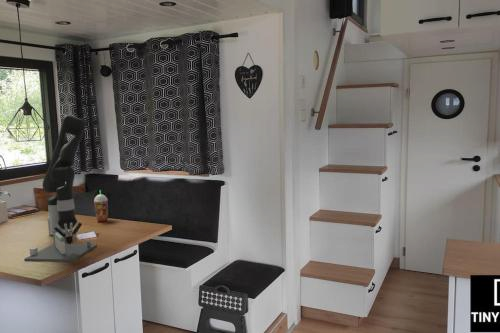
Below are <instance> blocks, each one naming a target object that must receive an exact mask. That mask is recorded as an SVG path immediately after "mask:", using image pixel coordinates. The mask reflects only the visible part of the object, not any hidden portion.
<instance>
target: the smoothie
mask: <svg viewBox="0 0 500 333" xmlns="http://www.w3.org/2000/svg"><path fill="white" fill-rule="evenodd" d="M108 202H109V200H108V197H107V196H106V195H104V194H102V190H101V189H100V190H99V194H97V195H96V196H95V197H94V200H93V203H94V204H93V205H94V210H95V211H94V212H95V218H96V221H97V223H105V222H108V219H109V209H108V208H109V206H108V205H109V204H108Z"/></svg>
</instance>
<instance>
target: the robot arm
mask: <svg viewBox="0 0 500 333" xmlns="http://www.w3.org/2000/svg"><path fill="white" fill-rule="evenodd" d="M60 125H61V126H60V129H59V134H58V139H57V141H56V144H55V148H53V149H54V150H53V152H52V155H51V160H50V163H49V166H48V169H47V171H46V173H45V175H44V178H43V180H42V189H43V191H44V192H45V193H48V194H51V193H55V194H54V195H53V196H52V197H50V198H49V199H47V208H48V209H47V210H48V217H47V226H48V235H51V236H54V233H53V231H54V230H56V231H57V232H58V233H59V234H60V235H61V236H62V237H65V242H66V244H73V241H74V240H73V236H75V235H77V233H78V231H79V230H80V229H81V227H82V225H83V223H82V222H79V221H78V220H77V218H76V211H75V210H76V209H75V208H76V206H75V202H74V201H75V200H74V196H73V186H74V180H75V176H76V174H75V173H76V171H75V169H74V168H73V167H72V166H73V165H74V163H75V158H76V154H77V151H78V148H79V146H80V144H81V141H82V137H83V135H84V132H85V128H86V120H85V119H83V118H80V117H78V116H77V117H76V116H73V115H70V114H68V115H64V117H63V118H62V122H61V124H60ZM67 134H68V135H72V136H74V138H72V139H71V140H70V141H69V140H68V137H67ZM74 227H75V228H74ZM73 228H74V229H73Z"/></svg>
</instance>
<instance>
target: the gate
mask: <svg viewBox="0 0 500 333" xmlns="http://www.w3.org/2000/svg"><path fill="white" fill-rule="evenodd" d="M54 236H55V246H56V248H57V249H58V250H59V251H60V253H61V254H66V253H65V244H66V243H65V242H66V238H64V236H61V235H60V234H59V233H58V232H57V233H54V235H53V237H54Z"/></svg>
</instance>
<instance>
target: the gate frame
mask: <svg viewBox="0 0 500 333" xmlns="http://www.w3.org/2000/svg"><path fill="white" fill-rule="evenodd" d="M53 233H57V231H56V230H54V231H53ZM53 240H54V241H53V242H54V243H52V244H50V245H48V246H46V247H44V248H42V249H41V250H39V251H38V247H37V246H36V247H31V248H29V256H27V257H25V258H24V259H23V260H24V261H25V262H70V263H73V262H74V261H76V260H78V259H79V258H81V257H82V256H84V255H85V254H87V253H89V252H90V251H92V250H93V249H95V248H97V247H98V244H97V243H92V242H91V240H87V241H86V243H85V244H84V243H72V244H68V243H65V253H66V254H61V253H60V251H59V250H58V249H57V248H56V246H55V236H54V235H53Z"/></svg>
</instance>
